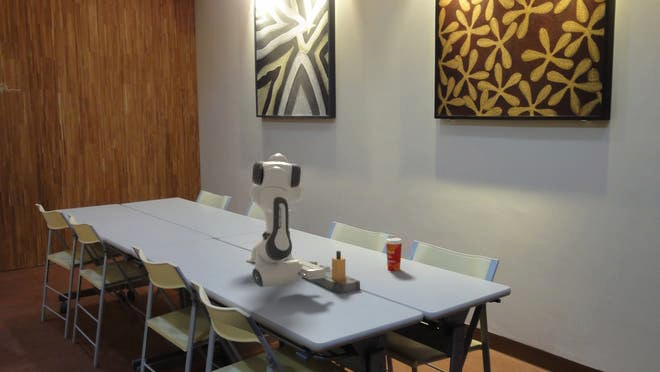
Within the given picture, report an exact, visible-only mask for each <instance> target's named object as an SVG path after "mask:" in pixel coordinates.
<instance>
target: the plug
mask: <svg viewBox="0 0 660 372" xmlns="http://www.w3.org/2000/svg"><path fill="white" fill-rule="evenodd" d="M341 254H342V252H341V250H336V257H333V258H331V269H332V279H333V280H335V281H341V280H346V276H347V275H346V258H344V257H341V256H342V255H341ZM345 275H346V276H345Z"/></svg>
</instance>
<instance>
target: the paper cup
mask: <svg viewBox="0 0 660 372" xmlns="http://www.w3.org/2000/svg"><path fill="white" fill-rule="evenodd" d="M402 244H403V241H402V239H401V238H398V237H389V238H386V239H385V246H386V247H385V248H386V259H387V260H386V262H387V264H386V265H387V271H391V272H398V271H400V270H401V258H402Z"/></svg>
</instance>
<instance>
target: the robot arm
mask: <svg viewBox="0 0 660 372" xmlns="http://www.w3.org/2000/svg"><path fill="white" fill-rule="evenodd" d="M250 177H251V181H252V183H253V184H252V186H251V187H250V190H249V197H250V199H251V201H252V202H253V203H254V204H256V205H257V206H258V207H259V208H260V209H261V210H262V212H263V214H264V218H265V225H266V226H265V227H266V229H265V230H264V232H263V233H262V234H261V237H262V239H261V240H260V241H258V243H256V244H255V245H254V246H253V247H252V249H251V255H249V256H248V257H247V258H246V261H247V262H249V263H255V264H254V267H253V269H252V273H251V274H252V279H253V281H254V282H255V284H256V285H257V286H259V287H260V288H270V287H272V288H273V287H277V286H280V285H282V284H286V285H288V284H294V283H298V282H300V281H301V280H302V279H303V278H304V279H307V280H309V279H319V278H324V277H325V272H326V271H330V269H331V267H330V266H328V265H325V266H324V267H323V268H322V267H320V265H318V261H316V260H315V261H314V260H313V261H308V260H305V259H302V258H293V257H294V256H293V254H292V249H293V243H292V239H291V231H290V220H289V219H290V218H289V204H293V203H298V202H300V201H301V200H302V198H303V196H304V187H303V185H302V184H301V183H302V180H303V170H302V169H301V166H300V165H299V164H296V163H293V162H291V163H290V162H289V160H288V158H287V156H285V155H283V154H281V153H275V154H272V155H271V156H269V158H268V159H267V161H263V160H262V161H260V160H259V161H256V162H254V164H253V165H252V168H251V170H250Z"/></svg>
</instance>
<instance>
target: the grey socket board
mask: <svg viewBox="0 0 660 372" xmlns="http://www.w3.org/2000/svg"><path fill="white" fill-rule="evenodd" d="M319 266H320V267H322V268H323V267H324V266H323V265H322V264H321V265H319ZM345 276H346V280H341V281H335V280H333V279H332V268H330V271H326V272H325V277H324V278H319V279H308V281H311V282H313V283H316V284H318V285H319V286H322V287H324V288H326V289H328V290H330V291H333V292H335V293H337V294H339V295H341V294H345V293H350V292H355V291H359V290H361V280H358V279H356V278H353V277H350V276H349V275H346V274H345Z"/></svg>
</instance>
